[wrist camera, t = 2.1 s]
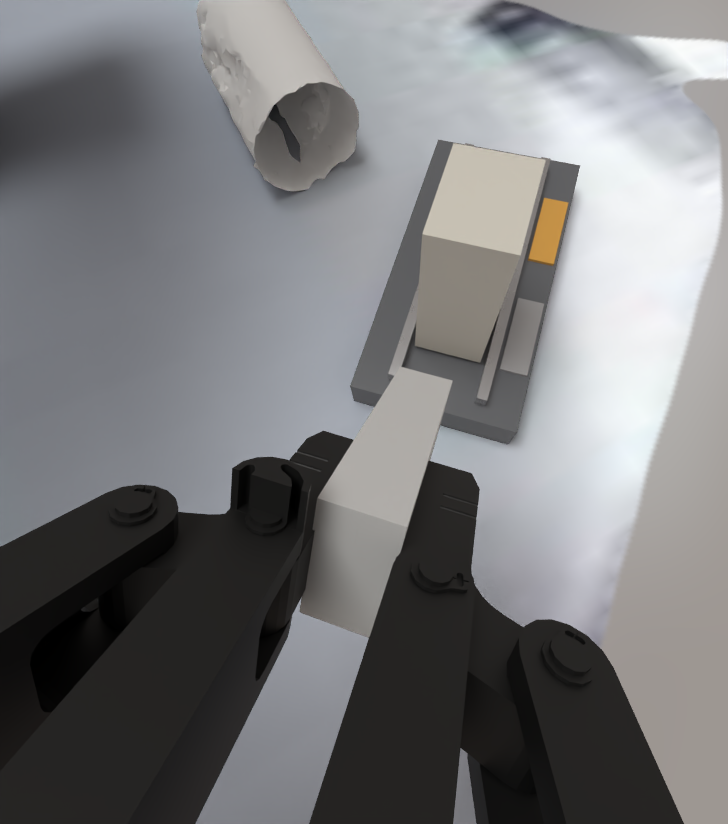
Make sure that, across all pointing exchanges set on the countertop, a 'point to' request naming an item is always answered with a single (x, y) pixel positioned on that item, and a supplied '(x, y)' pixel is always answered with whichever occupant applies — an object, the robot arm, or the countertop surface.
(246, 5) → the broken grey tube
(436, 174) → the switch plate
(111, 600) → the robot arm
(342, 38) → the countertop surface
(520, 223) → the switch tab
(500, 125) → the countertop surface
